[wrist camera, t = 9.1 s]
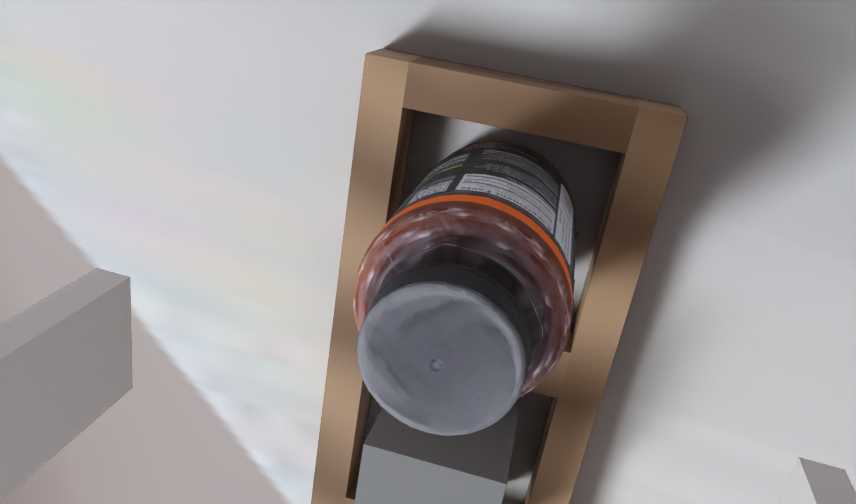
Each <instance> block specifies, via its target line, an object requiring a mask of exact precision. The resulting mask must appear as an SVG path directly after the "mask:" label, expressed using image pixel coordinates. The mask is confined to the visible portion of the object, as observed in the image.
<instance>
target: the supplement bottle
mask: <svg viewBox="0 0 856 504" xmlns="http://www.w3.org/2000/svg"><path fill="white" fill-rule="evenodd" d="M576 232H577V231H576V217H575V212H574V205H573V202H572V199H571V195H570V193H569V190H568V188H567V186H566V184H565V183H564V181H563V179H562V177H561V176H560V175H559V173H558V172H557V171H556V170H555V169H554V168H553V166H551V165H550V164H549V163H548V162H547V161H546V160H544V159H543V158H542V157H540V156H539V155H537V154H536V153H534V152H532V151H530V150H528V149H526V148H523V147H520V146H516V145H513V144H508V143H502V142H487V143H480V144H474V145H471V146H467V147H465V148H463V149H460V150H458V151H456V152H454V153H452V154H451V155H449V156H448V157H447V158H445V159H444V160H442V161H441V162H440V163H439V164H437V165H436V166H435V167H434V168H433V169H432V170H431V171H430V172H429V173H428V175H427V176H426V177H425V178H424V179H423V181H422V182H421V183H420V184H419V185H418V186H417V187H416V188H415V190H414V191H413V192H412V193H411V195H410V196H409V197H408V198H407V199H406V200H405V201H404V203H403V204H402V205H401V206H400V207H399V209H398V210H397V211H396V212H395V213H394V215H393V216H392V217H391V218H390V219H389V221H388V222H387V223H386V224H385V226H384V227H383V228H382V229H381V230H380V232H379V233H378V234H377V235H376V237H375V238H374V239H373V241H372V242H371V244H370V245H369V247H368V249H367V251H366V253H365V255H364V257H363V259H362V261H361V263H360V266H359V268H358V271H357V276H356V279H355V284H354V296H353V306H354V315H355V320H356V325H357V328H358V331H359V334H358V339H357V362H358V367H359V369H360V373H361V376H362V378H363V381H364V383H365V385H366V387H367V389H368V391H369V392H370V393H371V395H372V396H373V397H374V399H375V400H376V401H377V402H378V403H379V405H380V406H381V407H382V408H384V409H385V410H386V411H387V412H388V413H389V414H391V415H392V416H393V417H395V418H397V419H398V420H399V421H400V422H403V423H405V424H407V425H408V426H410V427H412V428H415V429H418V430H421V431H424V432H427V433H433V434H437V435H443V436H452V435H463V434H470V433H473V432H476V431H479V430H482V429H485V428H487V427H489V426H491V425H492V424H494V423H496V422H497V421H499V420H500V419H501V418H502V417H504V416H505V415H506V414H507V413H508V412H509V411H510V409H511V408H512V407H513V405H514V404H515V402H516V401H517V400H518V399H519V398H520V397H522V396H523V395H524V394H526V393H528V392H530V391H531V390H532V389H534V388H535V387H536V386H537V385H538V384H539V383H540V382H541V381H542V380H543V379H544V378H545V377H546V376H547V375H548V374H549V373H550V372H551V371H552V370H553V368H554V367H555V365H556V364H557V362H558V360H559V359H560V357H561V356H562V353H563V352H564V349H565V347H566V344H567V341H568V336H569V334H570V328H571V323H572V310H573V306H574V299H573V292H574V282H575V280H574V269H575V247H576V246H575V244H576V239H577V237H578V235H579V233H577V235H576Z"/></svg>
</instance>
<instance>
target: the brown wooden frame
mask: <svg viewBox="0 0 856 504" xmlns="http://www.w3.org/2000/svg"><path fill="white" fill-rule="evenodd" d="M414 110H418V111H422V112H427V113H432V114H437V115H442V116H447V117H451V118H456V119H461V120H466V121H471V122H475V123H480V124H485V125H490V126H495V127H500V128H504V129H509V130H514V131H519V132H524V133H528V134H533V135H538V136H543V137H548V138H553V139H557V140H562V141H567V142H572V143H577V144H581V145H586V146H591V147H596V148H601V149H606V150H610V151H615V152H620V157H619V161H618V164H617V168H616V171H615V175H614V179H613V182H612V186H611V190H610V193H609V197H608V200H607V204H606V208H605V211H604V215H603V219H602V222H601V226H600V229H599V233H598V237H597V240H596V244H595V248H594V251H593V255H592V259H591V262H590V266H589V269H588V273H587V277H586V280H585V284H584V288H583V291H582V295H581V298H580V302H579V306H578V309H577V313H576V317H575V320H574V324H573V327H572V328H570V334H569V336H568V341H567V344H566V347H565V349H564V352H563V353H562V356H561V357H560V359H559V360H558V362H557V364H556V365H555V367H554V368H553V370H552V371H551V372H550V373H549V374H548V375H547V376H546V377H545V378H544V379H543V380H542V381H541V382H540V383H539V384H538V385H537V386H536V387H535V388H534V389H532V390H531V392H535V393H538V394H542V395H546V396H550V397H553V400H552V404H551V407H550V411H549V415H548V418H547V422H546V425H545V429H544V433H543V436H542V440H541V444H540V447H539V451H538V454H537V458H536V462H535V465H534V469H533V473H532V476H531V480H530V483H529V487H528V491H527V494H526V498H525V502H524V504H569V502H570V498H571V495H572V492H573V489H574V485H575V482H576V479H577V476H578V472H579V469H580V466H581V463H582V459H583V456H584V453H585V450H586V446H587V443H588V440H589V437H590V434H591V430H592V427H593V424H594V421H595V417H596V414H597V411H598V408H599V404H600V401H601V398H602V395H603V391H604V388H605V385H606V382H607V378H608V375H609V372H610V369H611V365H612V362H613V359H614V356H615V352H616V349H617V346H618V343H619V339H620V336H621V333H622V330H623V326H624V323H625V320H626V317H627V313H628V310H629V307H630V304H631V300H632V297H633V294H634V291H635V288H636V284H637V281H638V278H639V275H640V271H641V268H642V265H643V262H644V258H645V255H646V252H647V249H648V245H649V242H650V239H651V236H652V232H653V229H654V226H655V223H656V219H657V216H658V213H659V210H660V206H661V203H662V200H663V197H664V193H665V190H666V187H667V184H668V180H669V177H670V174H671V171H672V167H673V164H674V161H675V158H676V154H677V151H678V148H679V145H680V142H681V138H682V135H683V132H684V129H685V125H686V122H687V119H688V117H687V115H686V114H685V112H684V111H683V109H682V108H681V107H679V106H674V105H668V104H663V103H658V102H653V101H648V100H643V99H638V98H633V97H628V96H622V95H617V94H612V93H607V92H602V91H597V90H592V89H587V88H582V87H576V86H571V85H566V84H561V83H556V82H551V81H546V80H541V79H536V78H530V77H525V76H520V75H515V74H510V73H505V72H500V71H495V70H490V69H485V68H479V67H474V66H469V65H464V64H459V63H454V62H449V61H444V60H439V59H433V58H428V57H423V56H418V55H413V54H408V53H403V52H398V51H393V50H387V49H379V50H376V51H372V52H369V53H366V54H365V62H364V70H363V78H362V87H361V95H360V103H359V111H358V120H357V128H356V136H355V144H354V153H353V161H352V169H351V177H350V186H349V194H348V202H347V211H346V219H345V227H344V235H343V244H342V252H341V260H340V268H339V277H338V285H337V293H336V301H335V310H334V318H333V326H332V335H331V343H330V351H329V359H328V368H327V376H326V384H325V392H324V401H323V409H322V417H321V425H320V434H319V442H318V450H317V458H316V467H315V475H314V483H313V492H312V500H311V504H354V503H355V497H356V490H357V484H358V477H359V470H360V464H361V457H362V451H363V444H364V438H365V431H366V425H367V418H368V412H369V405H370V399H371V393H370V392H369V391H368V389H367V387H366V385H365V383H364V381H363V378H362V376H361V373H360V369H359V367H358V362H357V339H358V334H359V331H358V328H357V325H356V320H355V315H354V306H353V296H354V284H355V279H356V276H357V271H358V268H359V266H360V263H361V261H362V259H363V257H364V255H365V253H366V251H367V249H368V247H369V245H370V244H371V242H372V241H373V239H374V238H375V237H376V235H377V234H378V233H379V232H380V230H381V229H382V228H383V227H384V226H385V224H386V223H387V222H388V221H389V219H390V218H391V217H392V216H393V215H394V213H395V212H396V211H397V210H398V209H399V207H400V202H401V195H402V189H403V182H404V176H405V169H406V163H407V156H408V150H409V143H410V136H411V130H412V123H413V117H414Z"/></svg>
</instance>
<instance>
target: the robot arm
mask: <svg viewBox="0 0 856 504" xmlns="http://www.w3.org/2000/svg"><path fill="white" fill-rule="evenodd" d="M132 386H133V385H132V341H131V293H130V277H128V276H125V275H121V274H117V273H113V272H110V271H106V270H102V269H99V268H96V269H95V270H93V271H91V272H90V273H88V274H86V275H84V276H83V277H81V278H79V279H77V280H76V281H74V282H72V283H70V284H69V285H67V286H65V287H64V288H62V289H60V290H58V291H57V292H55V293H53V294H51V295H50V296H48V297H46V298H44V299H43V300H41V301H39V302H37V303H36V304H34V305H32V306H30V307H29V308H27V309H25V310H24V311H22V312H20V313H18V314H16V315H15V316H13V317H11V318H10V319H8V320H6V321H4V322H3V323H1V324H0V502H1V501H3V500H4V499H5V498H6V497H7V496H8V495H10V494H11V493H12V492H13V491H14V490H15V489H16V488H17V487H19V486H20V485H21V484H22V483H23V482H25V481H26V480H27V479H28V478H29V477H30V476H31V475H33V474H34V473H35V472H36V471H37V470H38V469H39V468H41V467H42V466H43V465H44V464H45V463H46V462H48V460H50V459H51V458H52V457H53V456H54V455H56V454H57V453H58V452H59V451H60V450H61V449H63V448H64V447H65V446H66V445H67V444H68V443H69V442H71V441H72V440H73V439H74V438H75V437H76V436H78V435H79V434H80V433H81V432H82V431H83V430H84V429H86V428H87V427H88V426H89V425H90V424H91V423H93V422H94V421H95V420H96V419H97V418H98V417H99V416H101V415H102V414H103V413H104V412H105V411H106V410H108V409H109V408H110V407H111V406H112V405H113V404H114V403H116V402H117V401H118V400H119V399H120V398H121V397H122V396H124V395H125V394H126V393H127V392H128V391H129V390H131V389H132ZM777 504H856V492H855V490H854V488H853V486H852V484H851V482H850V480H849V477H848V475H847V473H846V471H845V470H844V469H840V468H837V467H833V466H829V465H826V464H822V463H818V462H815V461H811V460H807V459H803V458H800V457H799V458H798V460H797V462H796V464H795V466H794V468H793V470H792V472H791V475H790V477H789V479H788V481H787V483H786V485H785V487H784V489H783V492H782V494H781V496H780V498H779V500H778V502H777Z"/></svg>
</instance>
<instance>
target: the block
mask: <svg viewBox="0 0 856 504" xmlns="http://www.w3.org/2000/svg"><path fill="white" fill-rule="evenodd" d="M521 398H522V397H520V398H519V399H518V400H517V401H516V402H515V404H514V405H513V407H512V408H511V409H510V411H509V412H508V413H507V414H506V415H505V416H504V417H502V418H501V419H500V420H499V421H497V422H496V423H494V424H492V425H491V426H489V427H487V428H485V429H482V430H479V431H476V432H473V433H470V434H463V435H452V436H443V435H437V434H433V433H427V432H424V431H421V430H418V429H415V428H412V427H410V426H408V425H407V424H405V423H403V422H400V421H399V420H398V419H397V418H395V417H393V416H392V415H391V414H389V413H388V412H387V411H386V410H385V409H384V408H381V410H380V412H379V414H378V416H377V418H376V420H375V422H374V424H373V426H372V428H371V430H370V432H369V434H368V436H367V438H366V440H365V442H364V444H363V451H362V457H361V464H360V470H359V477H358V484H357V490H356V497H355V503H354V504H502V500H503V496H504V492H505V488H506V484H507V479H508V473H509V467H510V462H511V456H512V450H513V444H514V439H515V433H516V427H517V421H518V416H519V410H520V404H521Z"/></svg>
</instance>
